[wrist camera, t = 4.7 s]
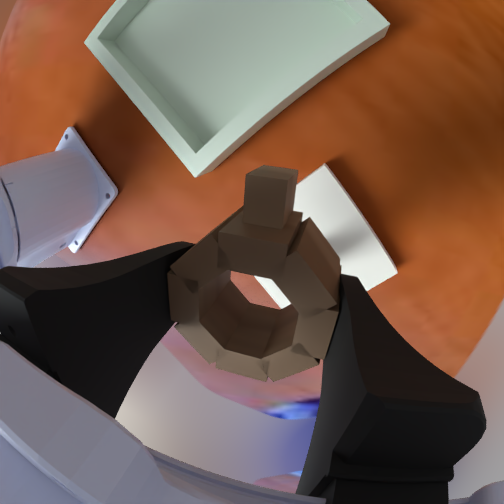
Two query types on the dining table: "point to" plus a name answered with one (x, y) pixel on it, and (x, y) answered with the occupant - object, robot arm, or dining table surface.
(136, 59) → the tray
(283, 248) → the ring
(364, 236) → the white base with peg
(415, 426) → the robot arm
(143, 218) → the dining table surface
